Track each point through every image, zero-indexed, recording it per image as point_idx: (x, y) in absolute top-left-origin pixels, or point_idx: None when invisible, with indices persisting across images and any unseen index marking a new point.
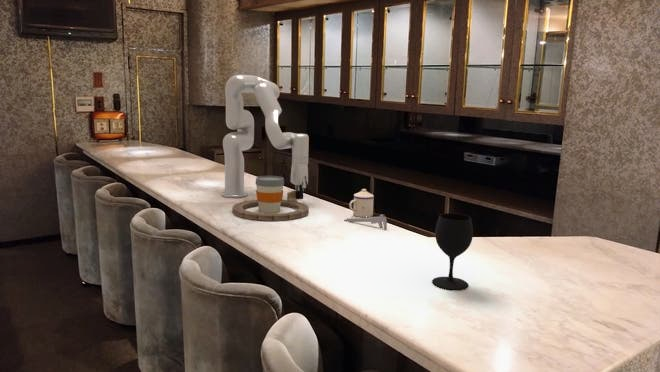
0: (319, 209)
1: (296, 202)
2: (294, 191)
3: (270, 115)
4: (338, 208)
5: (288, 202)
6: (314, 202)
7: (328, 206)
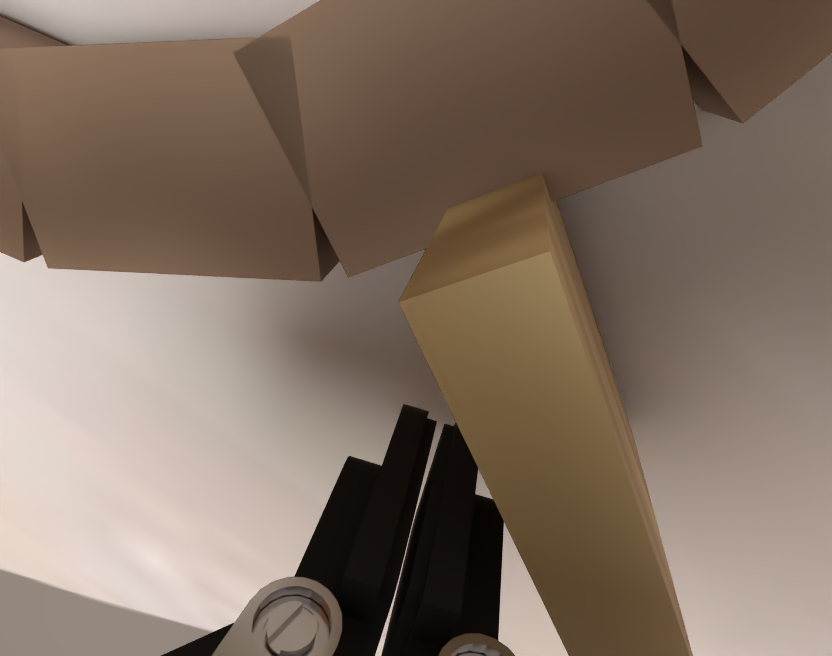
0: (18, 379)
1: (206, 214)
2: (555, 589)
3: None
4: (29, 554)
5: (293, 18)
6: None
7: (151, 559)
